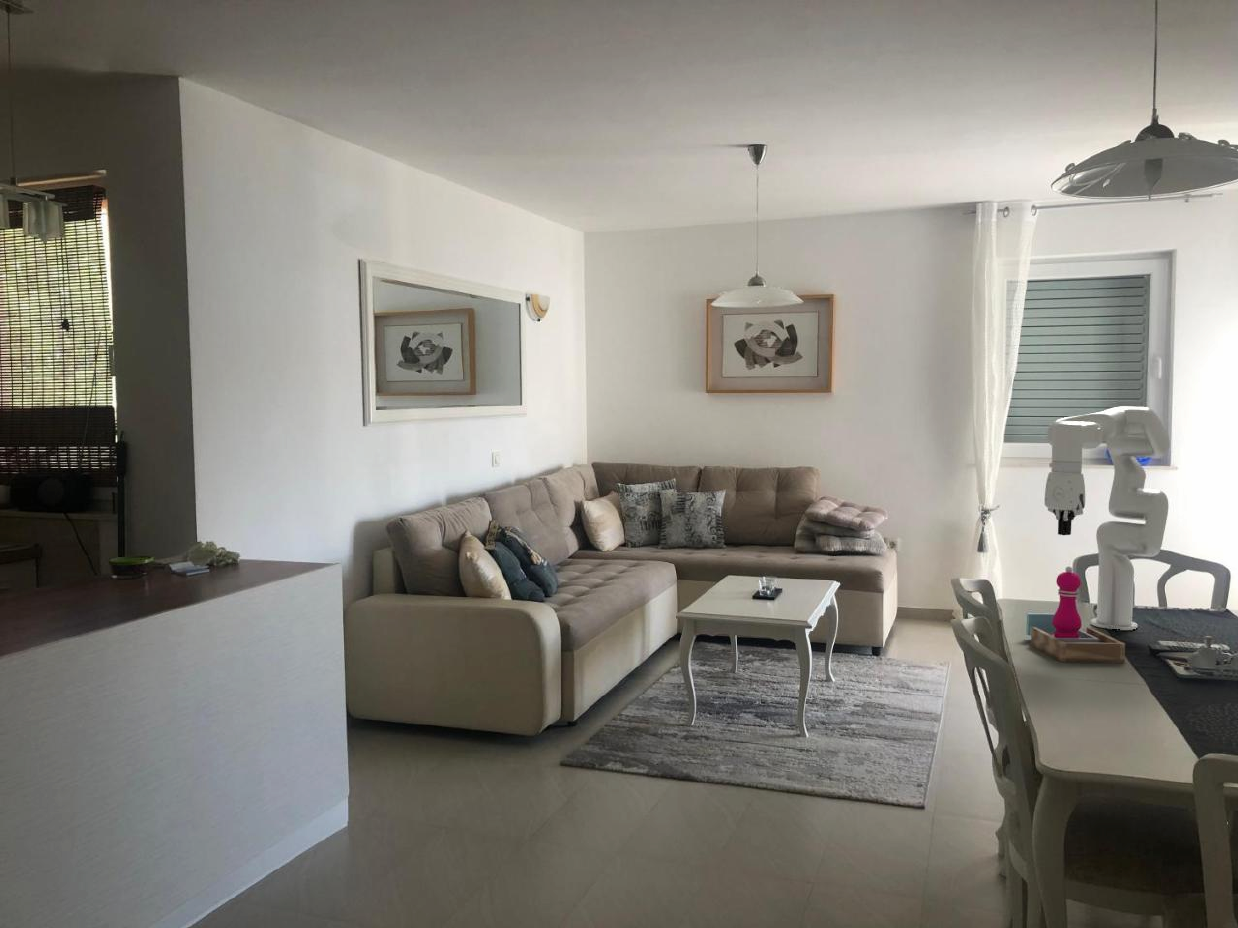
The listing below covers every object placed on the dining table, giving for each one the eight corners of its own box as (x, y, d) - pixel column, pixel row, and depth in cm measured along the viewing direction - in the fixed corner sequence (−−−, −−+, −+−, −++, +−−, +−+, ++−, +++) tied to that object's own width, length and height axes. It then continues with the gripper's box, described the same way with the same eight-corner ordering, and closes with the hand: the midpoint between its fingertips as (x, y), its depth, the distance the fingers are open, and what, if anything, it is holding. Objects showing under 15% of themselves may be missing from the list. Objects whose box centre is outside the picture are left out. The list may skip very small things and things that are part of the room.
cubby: (1031, 644, 272) (1031, 627, 272) (1090, 645, 272) (1091, 627, 272) (1060, 662, 254) (1061, 643, 254) (1124, 662, 254) (1125, 643, 254)
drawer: (1026, 633, 279) (1027, 613, 279) (1073, 634, 279) (1073, 613, 279) (1050, 647, 263) (1051, 625, 263) (1100, 648, 263) (1101, 626, 263)
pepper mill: (1075, 636, 272) (1078, 564, 271) (1085, 642, 265) (1087, 569, 264) (1048, 635, 273) (1050, 563, 272) (1057, 641, 266) (1059, 568, 265)
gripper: (1034, 466, 275) (1032, 532, 276) (1079, 470, 261) (1077, 539, 263) (1053, 465, 278) (1051, 530, 279) (1099, 469, 265) (1097, 537, 266)
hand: (1064, 534), depth 271 cm, fingers closed
